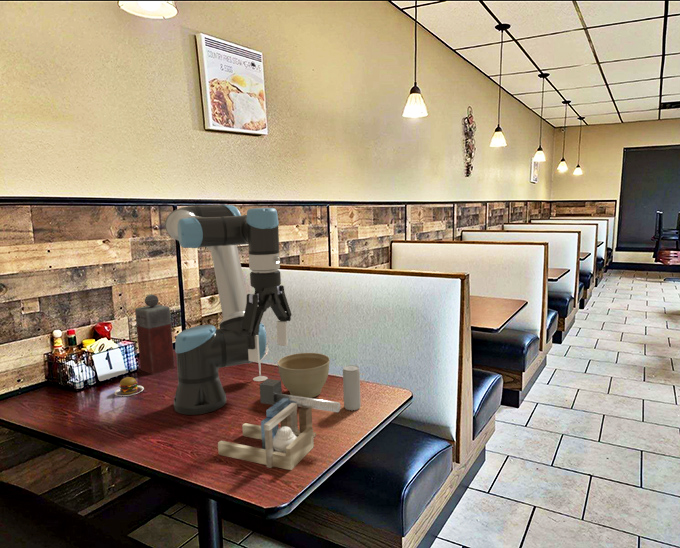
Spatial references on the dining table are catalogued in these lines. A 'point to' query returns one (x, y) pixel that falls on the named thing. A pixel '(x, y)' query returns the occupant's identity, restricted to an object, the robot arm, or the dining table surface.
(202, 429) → the dining table surface
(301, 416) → the cream cubby shelf
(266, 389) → the hammer
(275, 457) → the beige open frame
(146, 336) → the red decanter
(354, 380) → the beverage can
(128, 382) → the hamburger
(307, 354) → the planter bowl
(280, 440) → the white lumpy mound
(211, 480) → the dining table surface
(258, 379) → the wineglass
